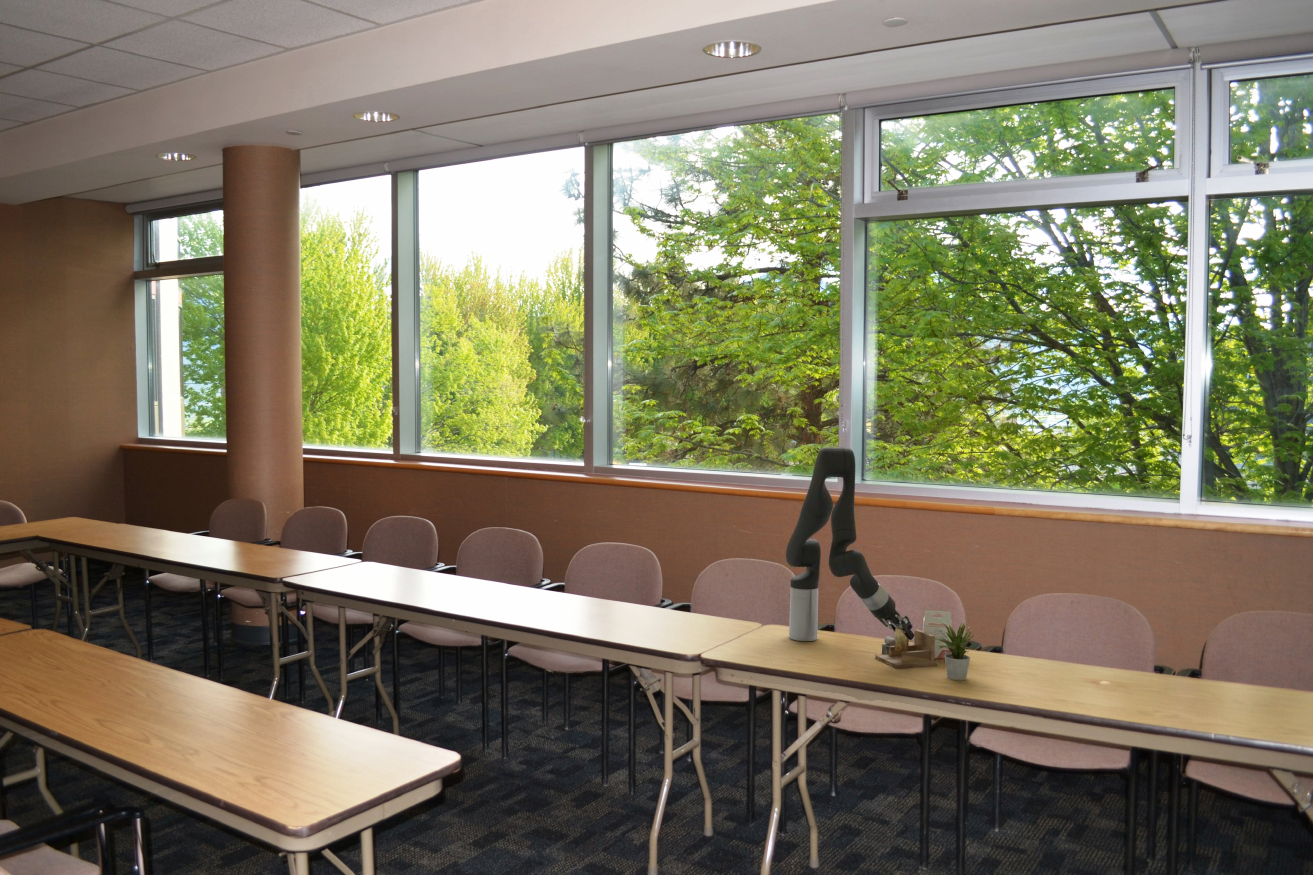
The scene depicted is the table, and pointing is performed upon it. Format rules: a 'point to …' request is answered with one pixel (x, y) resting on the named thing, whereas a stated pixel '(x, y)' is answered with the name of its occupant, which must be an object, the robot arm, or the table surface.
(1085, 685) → the table surface
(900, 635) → the spacer
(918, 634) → the cradle
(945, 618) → the ink cartridge box
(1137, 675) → the table surface
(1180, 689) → the table surface
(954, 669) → the house plant
